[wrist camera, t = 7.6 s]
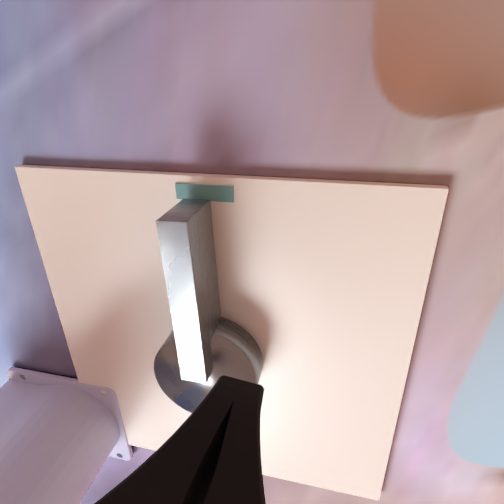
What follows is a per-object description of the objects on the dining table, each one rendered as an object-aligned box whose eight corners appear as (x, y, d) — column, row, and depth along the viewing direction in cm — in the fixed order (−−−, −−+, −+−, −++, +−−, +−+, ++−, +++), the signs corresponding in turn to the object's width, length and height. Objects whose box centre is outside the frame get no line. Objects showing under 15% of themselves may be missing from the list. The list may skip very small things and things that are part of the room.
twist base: (98, 432, 31) (94, 438, 31) (21, 164, 21) (13, 167, 21) (378, 493, 26) (379, 502, 26) (446, 185, 16) (449, 189, 16)
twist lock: (264, 398, 24) (252, 443, 21) (175, 384, 25) (153, 424, 22) (257, 200, 18) (239, 225, 15) (143, 195, 19) (107, 218, 17)
